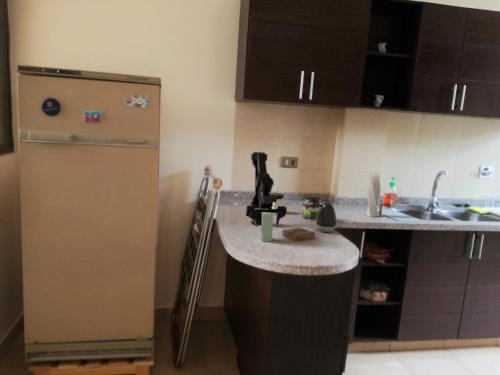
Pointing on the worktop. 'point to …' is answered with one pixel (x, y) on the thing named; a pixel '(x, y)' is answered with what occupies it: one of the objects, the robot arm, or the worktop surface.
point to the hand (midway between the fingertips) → (267, 226)
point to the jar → (278, 201)
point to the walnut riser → (298, 234)
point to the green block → (266, 226)
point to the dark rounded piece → (326, 218)
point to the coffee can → (311, 207)
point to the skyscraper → (374, 197)
